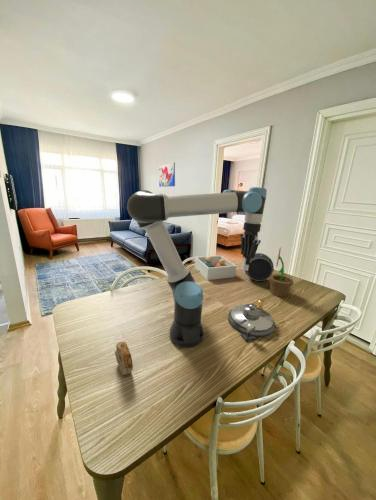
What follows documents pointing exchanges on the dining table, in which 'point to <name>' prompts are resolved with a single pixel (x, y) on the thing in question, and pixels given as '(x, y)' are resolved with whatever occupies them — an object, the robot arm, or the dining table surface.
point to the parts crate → (215, 268)
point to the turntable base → (256, 334)
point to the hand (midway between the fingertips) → (244, 269)
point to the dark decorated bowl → (260, 267)
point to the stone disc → (123, 358)
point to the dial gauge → (250, 329)
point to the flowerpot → (280, 282)
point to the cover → (251, 312)
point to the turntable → (260, 324)
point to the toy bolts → (220, 264)
